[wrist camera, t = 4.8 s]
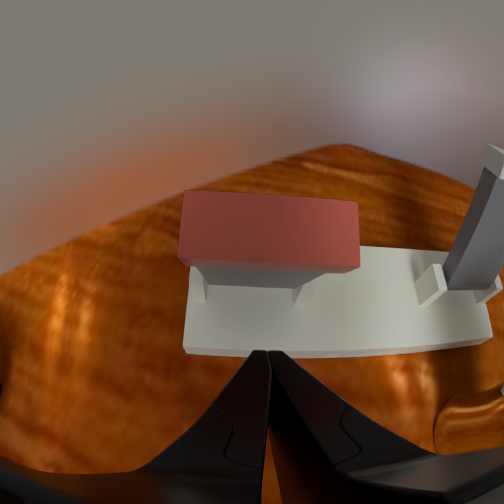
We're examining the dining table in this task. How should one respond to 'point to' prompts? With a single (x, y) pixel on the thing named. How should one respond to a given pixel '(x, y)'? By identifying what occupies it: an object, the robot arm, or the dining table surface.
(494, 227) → the grey lever
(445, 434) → the beer glass
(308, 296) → the switch console
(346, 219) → the red-capped switch paddle
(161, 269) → the dining table surface
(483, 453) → the robot arm
